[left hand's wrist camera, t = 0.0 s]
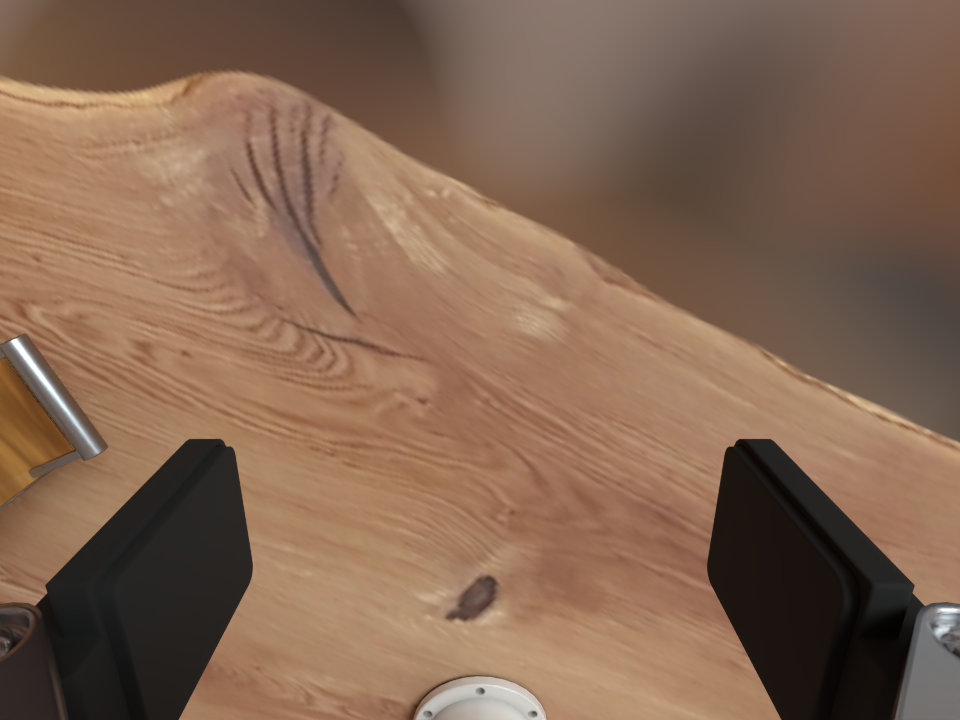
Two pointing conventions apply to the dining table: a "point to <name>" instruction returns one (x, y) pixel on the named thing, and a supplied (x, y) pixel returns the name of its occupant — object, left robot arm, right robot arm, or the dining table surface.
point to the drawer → (37, 420)
